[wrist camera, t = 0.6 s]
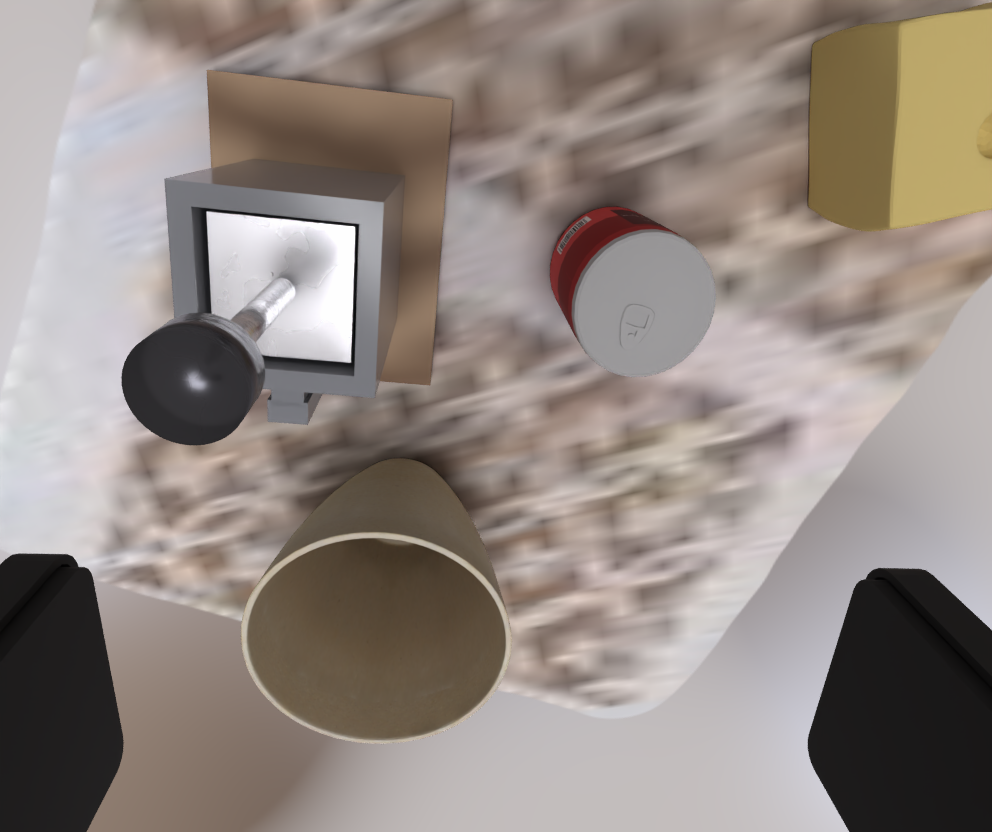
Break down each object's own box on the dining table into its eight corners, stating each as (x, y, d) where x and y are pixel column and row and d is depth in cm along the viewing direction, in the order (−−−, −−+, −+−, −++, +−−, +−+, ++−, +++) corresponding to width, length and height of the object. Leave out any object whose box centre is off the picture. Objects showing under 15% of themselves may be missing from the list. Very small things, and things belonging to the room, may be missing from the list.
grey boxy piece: (253, 158, 42) (164, 178, 29) (405, 175, 43) (383, 202, 30) (258, 344, 46) (182, 432, 33) (395, 356, 47) (372, 447, 34)
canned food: (545, 323, 48) (569, 379, 38) (550, 204, 45) (577, 230, 35) (654, 323, 49) (706, 378, 39) (667, 204, 46) (727, 230, 36)
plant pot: (349, 376, 49) (305, 488, 35) (531, 464, 53) (561, 599, 38) (268, 537, 54) (199, 694, 39) (440, 607, 57) (435, 775, 43)
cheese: (973, 6, 42) (1117, -24, 33) (954, 191, 46) (1077, 210, 37) (801, 36, 42) (897, 15, 33) (798, 218, 46) (882, 243, 37)
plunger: (212, 209, 31) (56, 271, 19) (357, 224, 32) (296, 293, 20) (218, 346, 34) (84, 478, 22) (353, 357, 34) (296, 492, 22)
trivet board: (215, 71, 41) (206, 69, 40) (452, 100, 42) (452, 99, 41) (227, 360, 48) (220, 367, 47) (430, 377, 49) (430, 385, 48)
